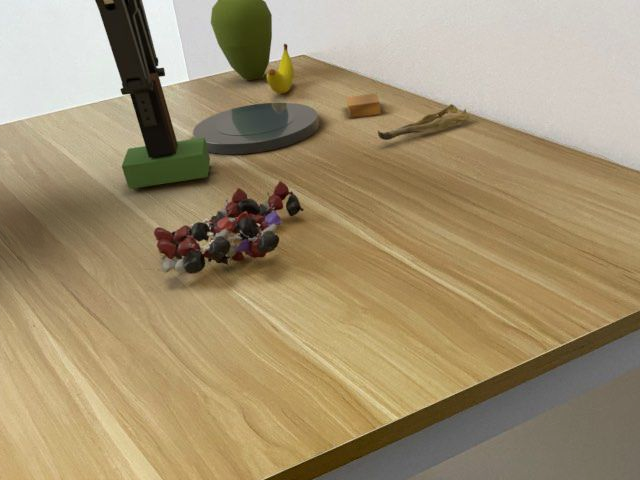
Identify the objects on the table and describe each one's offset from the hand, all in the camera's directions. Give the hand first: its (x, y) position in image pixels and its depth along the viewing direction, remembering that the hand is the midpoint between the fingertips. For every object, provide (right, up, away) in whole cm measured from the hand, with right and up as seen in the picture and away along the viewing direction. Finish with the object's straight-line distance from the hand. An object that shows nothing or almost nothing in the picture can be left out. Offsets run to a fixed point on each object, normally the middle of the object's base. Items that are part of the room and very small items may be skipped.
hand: (162, 148), depth 91 cm
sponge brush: (0, -2, +2) cm, 3 cm away
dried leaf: (+29, +7, +5) cm, 30 cm away
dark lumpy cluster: (+12, -17, -14) cm, 25 cm away
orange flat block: (+22, +12, +14) cm, 29 cm away
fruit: (+10, +20, +25) cm, 33 cm away
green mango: (+5, +25, +31) cm, 40 cm away
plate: (+9, +8, +12) cm, 17 cm away
